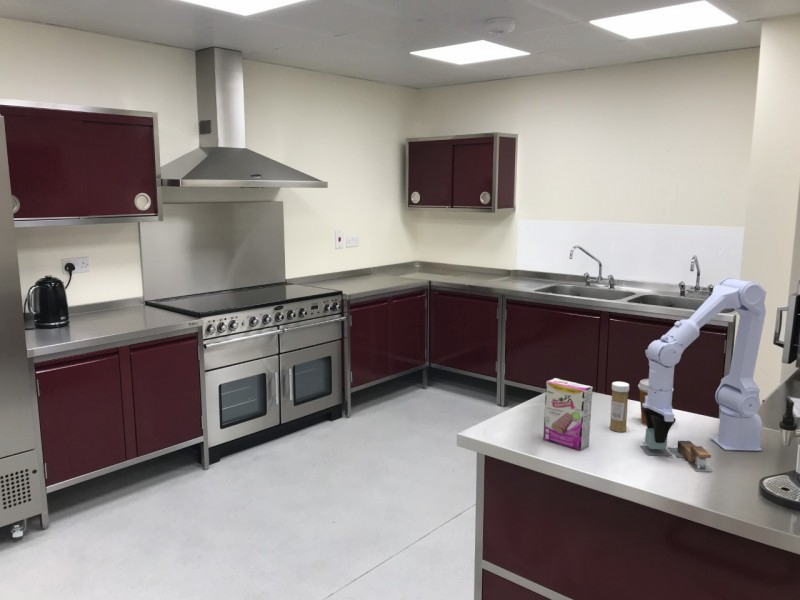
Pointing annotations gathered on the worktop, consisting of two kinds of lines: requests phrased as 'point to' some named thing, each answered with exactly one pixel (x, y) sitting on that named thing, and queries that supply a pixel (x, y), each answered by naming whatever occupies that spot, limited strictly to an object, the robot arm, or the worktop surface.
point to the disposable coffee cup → (643, 396)
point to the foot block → (653, 440)
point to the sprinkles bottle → (619, 406)
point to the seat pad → (655, 451)
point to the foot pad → (676, 452)
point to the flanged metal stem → (700, 465)
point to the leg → (692, 451)
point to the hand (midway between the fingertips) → (656, 439)
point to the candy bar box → (567, 413)
